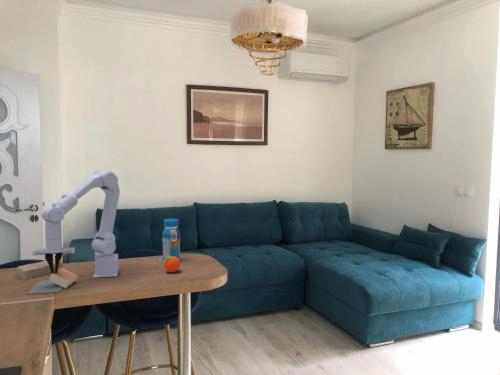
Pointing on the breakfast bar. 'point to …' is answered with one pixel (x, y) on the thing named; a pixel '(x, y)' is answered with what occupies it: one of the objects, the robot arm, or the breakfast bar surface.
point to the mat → (45, 288)
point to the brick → (35, 269)
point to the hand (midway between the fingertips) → (54, 272)
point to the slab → (63, 277)
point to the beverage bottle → (171, 239)
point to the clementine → (171, 264)
